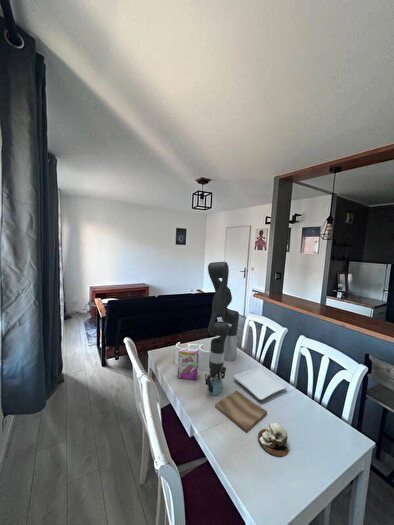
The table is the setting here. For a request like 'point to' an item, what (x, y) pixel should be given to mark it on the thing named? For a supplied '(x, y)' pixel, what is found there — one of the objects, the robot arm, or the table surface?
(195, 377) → the candy bar box
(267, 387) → the salad plate
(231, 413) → the walnut board
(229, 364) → the table surface
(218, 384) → the slate cube
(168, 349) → the table surface
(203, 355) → the bracket
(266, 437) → the skull
